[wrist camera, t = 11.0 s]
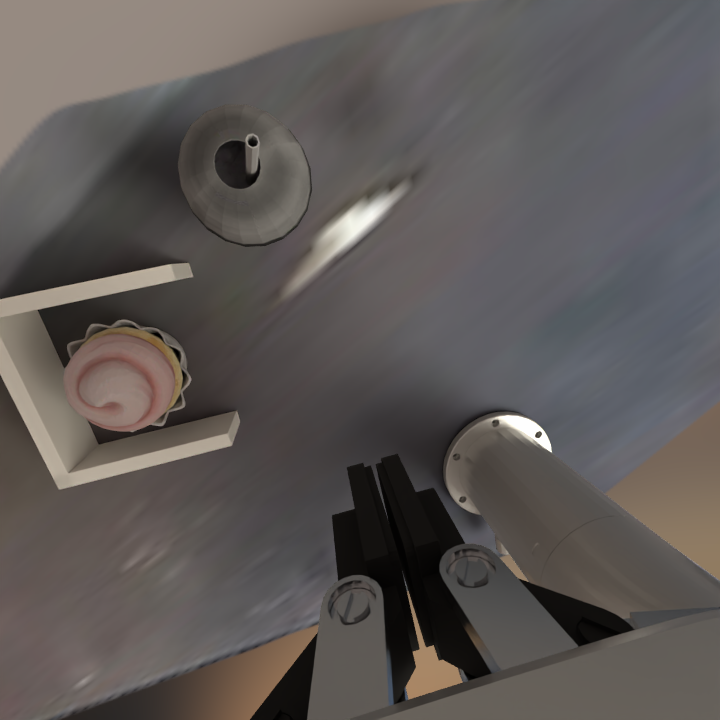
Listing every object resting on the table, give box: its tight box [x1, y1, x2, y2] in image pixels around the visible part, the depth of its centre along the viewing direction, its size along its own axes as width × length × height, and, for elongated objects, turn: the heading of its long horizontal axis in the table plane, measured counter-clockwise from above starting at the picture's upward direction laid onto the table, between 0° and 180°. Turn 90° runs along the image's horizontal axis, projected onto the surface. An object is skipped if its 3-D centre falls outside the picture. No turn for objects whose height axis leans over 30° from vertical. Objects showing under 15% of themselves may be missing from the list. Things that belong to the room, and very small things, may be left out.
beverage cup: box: [178, 105, 312, 247], centre depth 23 cm, size 7×7×20 cm
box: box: [0, 263, 240, 490], centre depth 32 cm, size 15×14×5 cm
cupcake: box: [63, 320, 192, 432], centre depth 30 cm, size 9×9×10 cm
